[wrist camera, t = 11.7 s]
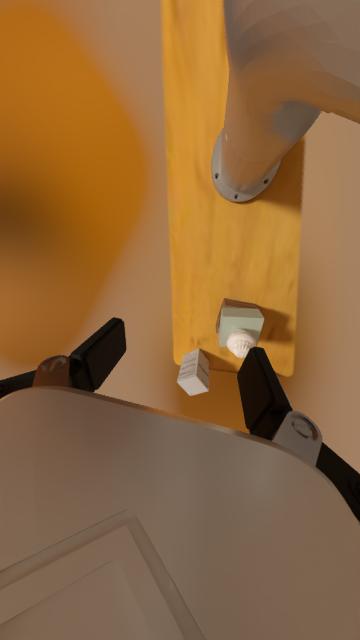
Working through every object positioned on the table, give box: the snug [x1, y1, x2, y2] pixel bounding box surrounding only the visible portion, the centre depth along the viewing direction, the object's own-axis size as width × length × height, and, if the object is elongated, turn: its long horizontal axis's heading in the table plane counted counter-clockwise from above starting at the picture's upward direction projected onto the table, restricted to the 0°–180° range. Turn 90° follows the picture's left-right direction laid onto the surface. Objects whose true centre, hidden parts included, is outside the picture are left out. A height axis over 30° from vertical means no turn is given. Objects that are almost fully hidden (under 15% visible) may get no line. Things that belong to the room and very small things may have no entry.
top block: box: [219, 307, 264, 347], centre depth 38 cm, size 9×9×5 cm
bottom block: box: [216, 298, 260, 333], centre depth 43 cm, size 9×9×5 cm
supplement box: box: [177, 349, 209, 396], centre depth 51 cm, size 7×7×13 cm
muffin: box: [227, 329, 256, 358], centre depth 33 cm, size 6×6×7 cm
